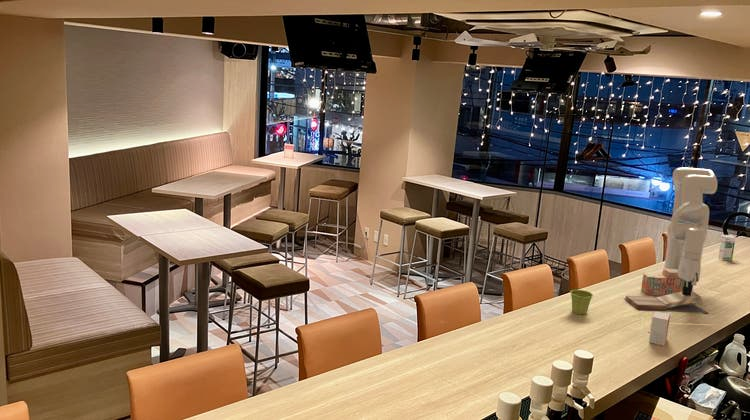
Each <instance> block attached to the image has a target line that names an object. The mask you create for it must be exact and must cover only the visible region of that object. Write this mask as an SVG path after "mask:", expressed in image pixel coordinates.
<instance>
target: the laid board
mask: <svg viewBox="0 0 750 420" xmlns="http://www.w3.org/2000/svg"><path fill="white" fill-rule="evenodd" d="M625 298H626V299H624V300H625V301H626V302H627V301H628V302H627V303H628V304H629V305H631V306H632V305H633V306H632V307H634V308H635V309H636V308H637V309H652V310H666V307H667V305H665V304H664V303H662V302H661V301H659V300H658V299H656V297H655V296H654V295H652V296H648V295H647V296H646V295H625ZM637 309H636V310H637Z"/></svg>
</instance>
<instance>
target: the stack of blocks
mask: <svg viewBox="0 0 750 420" xmlns="http://www.w3.org/2000/svg"><path fill="white" fill-rule="evenodd" d="M678 270H679V269H664V268H663V270H662V272H663V274H662V273H661V274H660V273H647V272H646V273H645V272H644V273H642V280H641V289H640V290H641V292H643V293H644V294H645V295H652V296H654V295H655V296H664V295H669V294H673V293H678V292H682V291H683V280H682V279H681V278H680V277H679V276H678ZM693 289H694V286H693V287H692V291H694V290H693Z"/></svg>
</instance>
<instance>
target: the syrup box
mask: <svg viewBox="0 0 750 420" xmlns="http://www.w3.org/2000/svg"><path fill="white" fill-rule="evenodd" d="M735 243H736V236H734V235H731V234H730V235H729V234H721V238H720V244H719V249H718V250H719V252H718V259H720V258H721V259H722V261H731V260H732V261H733V256H734V249H735ZM721 259H720V260H721Z"/></svg>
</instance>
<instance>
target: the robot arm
mask: <svg viewBox="0 0 750 420" xmlns="http://www.w3.org/2000/svg"><path fill="white" fill-rule="evenodd" d="M672 182H673V183H672V184H673V187H674V192H675V193H674V200H673V201H674V202H673V209H672V210H673V211H672V216H671V219H670V224H669V225H668V226H667V230H666V231H667V232H666V233H667V245H666V252H665V259H664V260H665V261H664V268H663V269H679V270H678V276H679V277H680V278H681V279H682V280H683V291H682V294H683V295H687V296H690V295H691V291H693V290H692V287H693V288H694V286H697V283H698V282H699V281H700V277H701V268H702V267H701V266H702V264H701V263H702V262H701V261H702V257H703V250H704V243H705V242H706V240H707V234H708V227H709V221H710V220H709V219H710V208H709V205H707V204H705V203H704V200H703V195H704V194H706V195H713V194H715V193H716V192H717V189H718V179H717V176H716V175H715V173H714V171H713V170H712V169H709V168H707V169H706V168H696V167H677V168H675V169H674V170H673V172H672ZM679 221H683V222H692V224H691V223H683V222H679ZM693 223H696V224H693ZM662 274H663V271H662V272H661V275H662Z"/></svg>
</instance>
